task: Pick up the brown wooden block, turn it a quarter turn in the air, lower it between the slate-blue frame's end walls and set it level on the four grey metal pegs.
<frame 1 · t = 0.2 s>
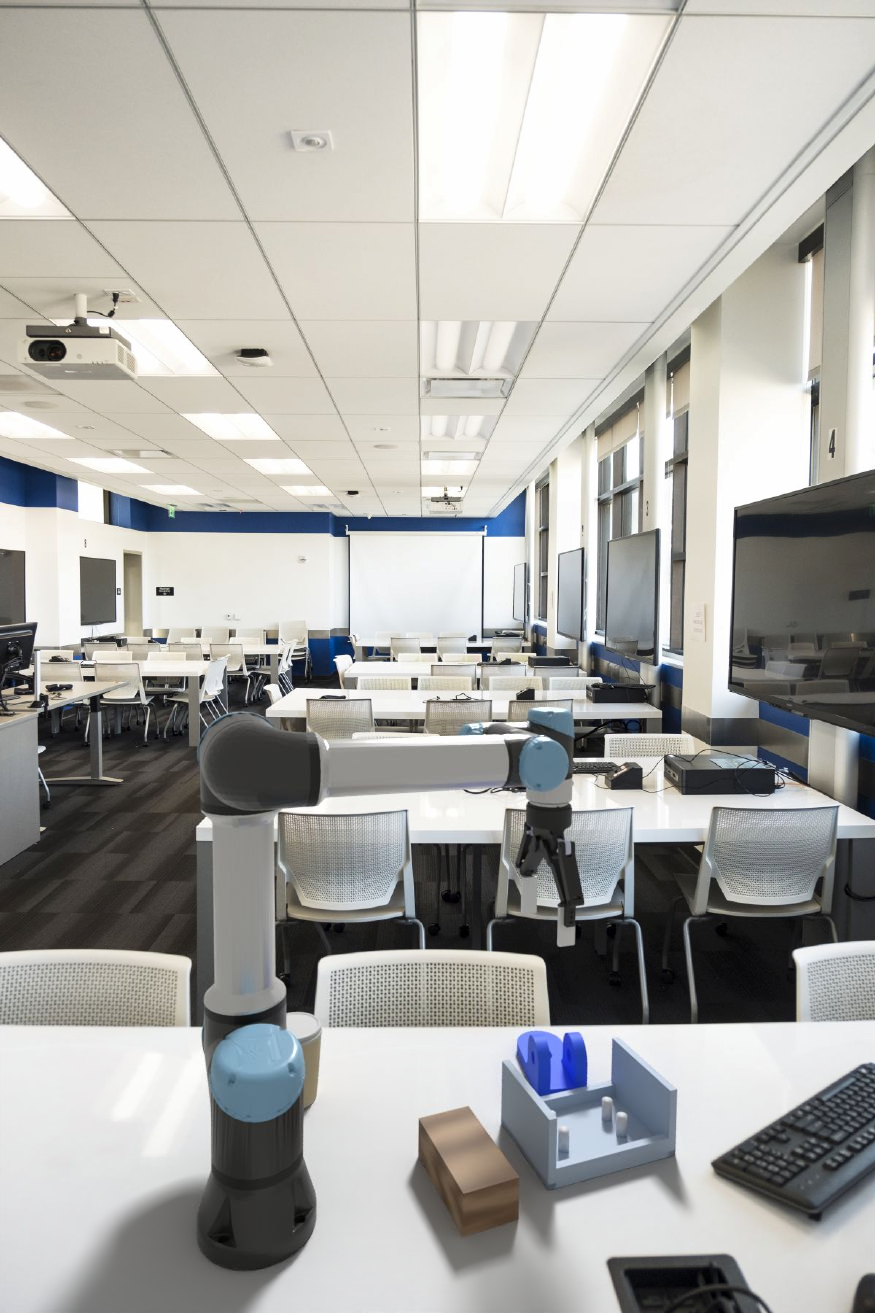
hand: (546, 928, 128), 28 cm above the table, fingers open, 13 cm apart
frame: (585, 1138, 118), on the table
coffee cup: (293, 1098, 127), on the table
brown wooden block: (465, 1188, 108), on the table
bracket: (547, 1070, 136), on the table
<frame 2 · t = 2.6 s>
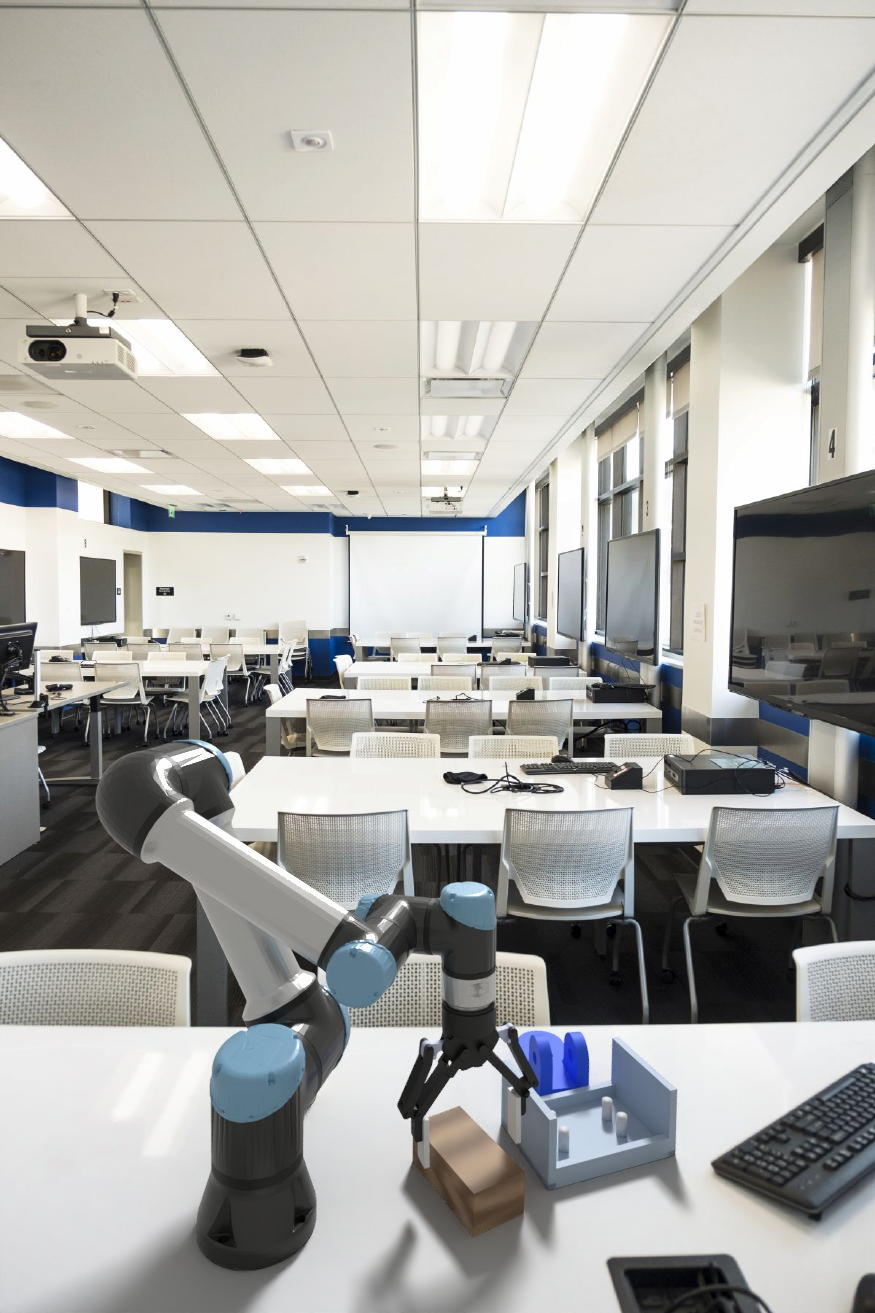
hand: (469, 1149, 107), 5 cm above the table, fingers open, 13 cm apart
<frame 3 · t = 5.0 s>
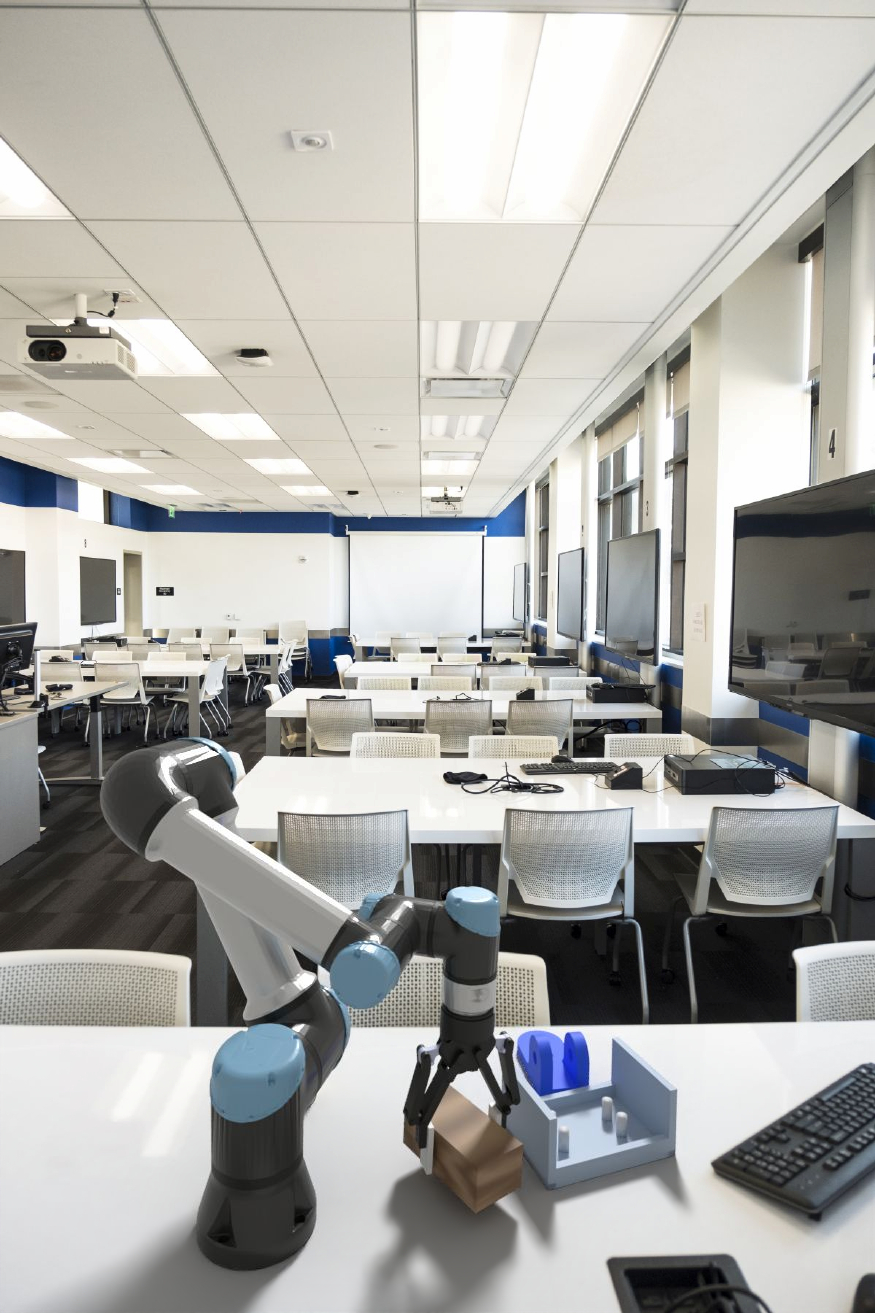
hand: (459, 1160, 108), 4 cm above the table, fingers closed on brown wooden block, 9 cm apart
brown wooden block: (459, 1164, 108), point 3 cm above the table, touching gripper
everything else where it was.
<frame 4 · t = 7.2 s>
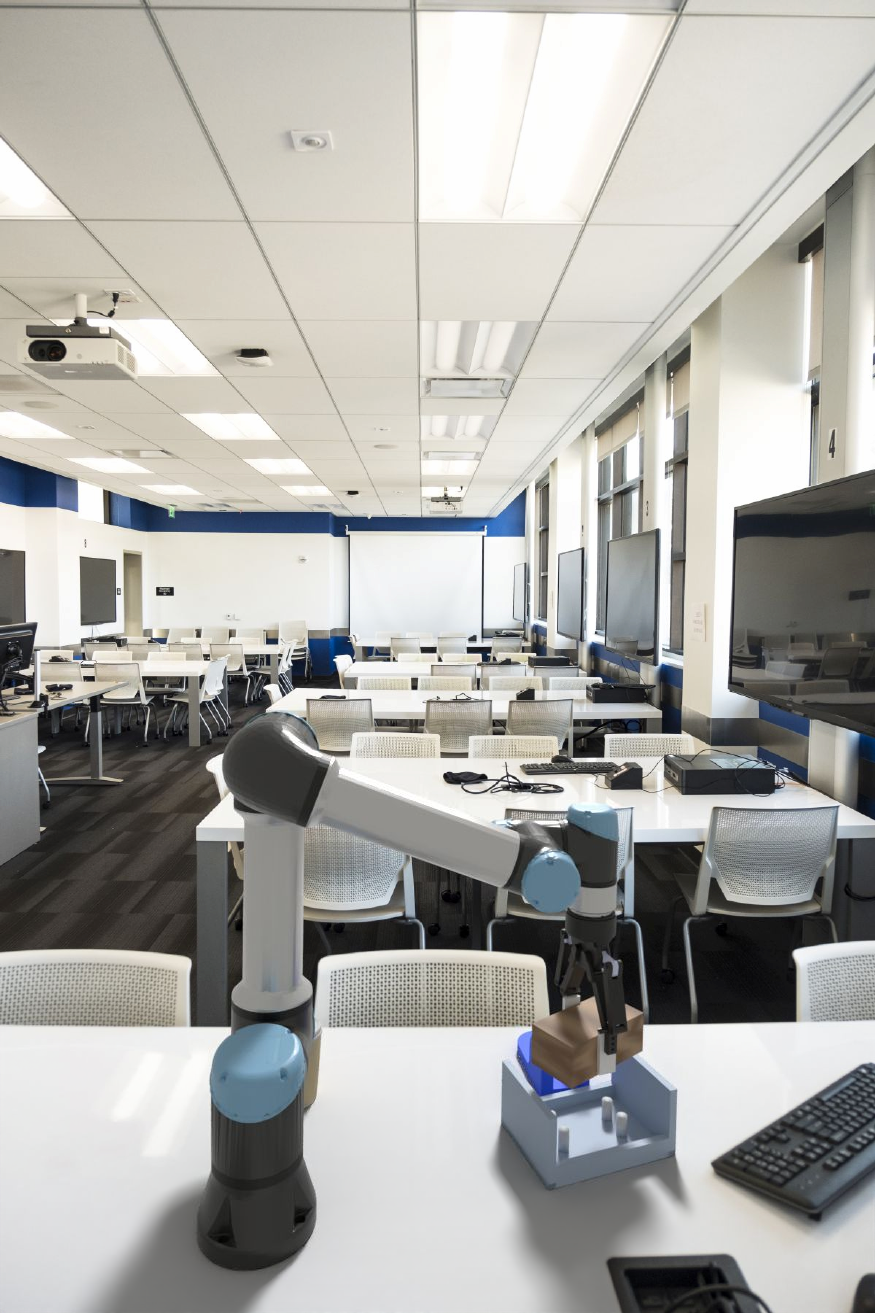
hand: (587, 1054, 117), 13 cm above the table, fingers closed on brown wooden block, 9 cm apart
brown wooden block: (587, 1057, 117), point 13 cm above the table, touching gripper
everything else where it was.
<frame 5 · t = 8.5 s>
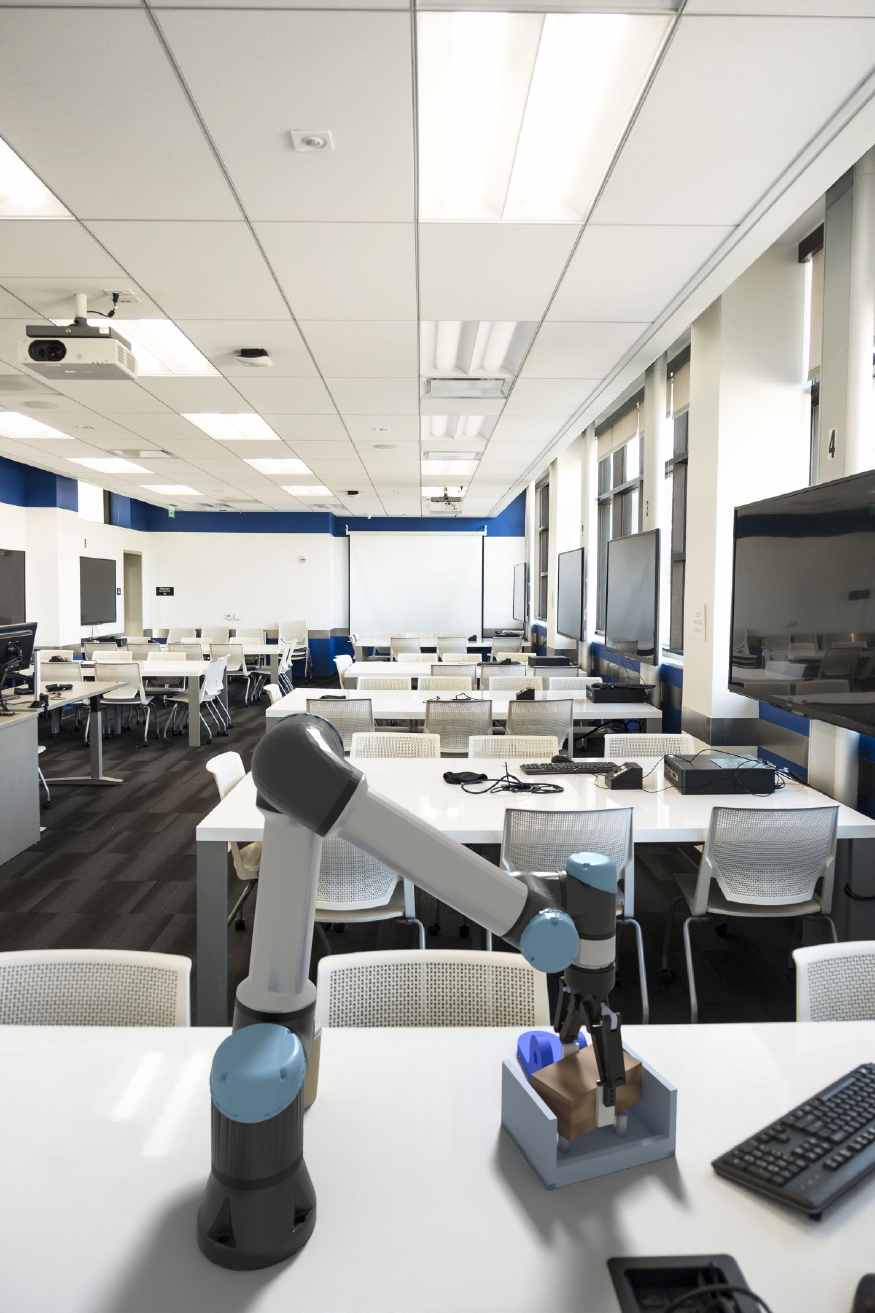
hand: (586, 1103, 117), 5 cm above the table, fingers closed on brown wooden block, 9 cm apart
brown wooden block: (586, 1106, 118), point 5 cm above the table, touching gripper
everything else where it was.
when the fingers open (5 cm above the table, at t = 9.5 s): brown wooden block stays where it is, resting on frame.
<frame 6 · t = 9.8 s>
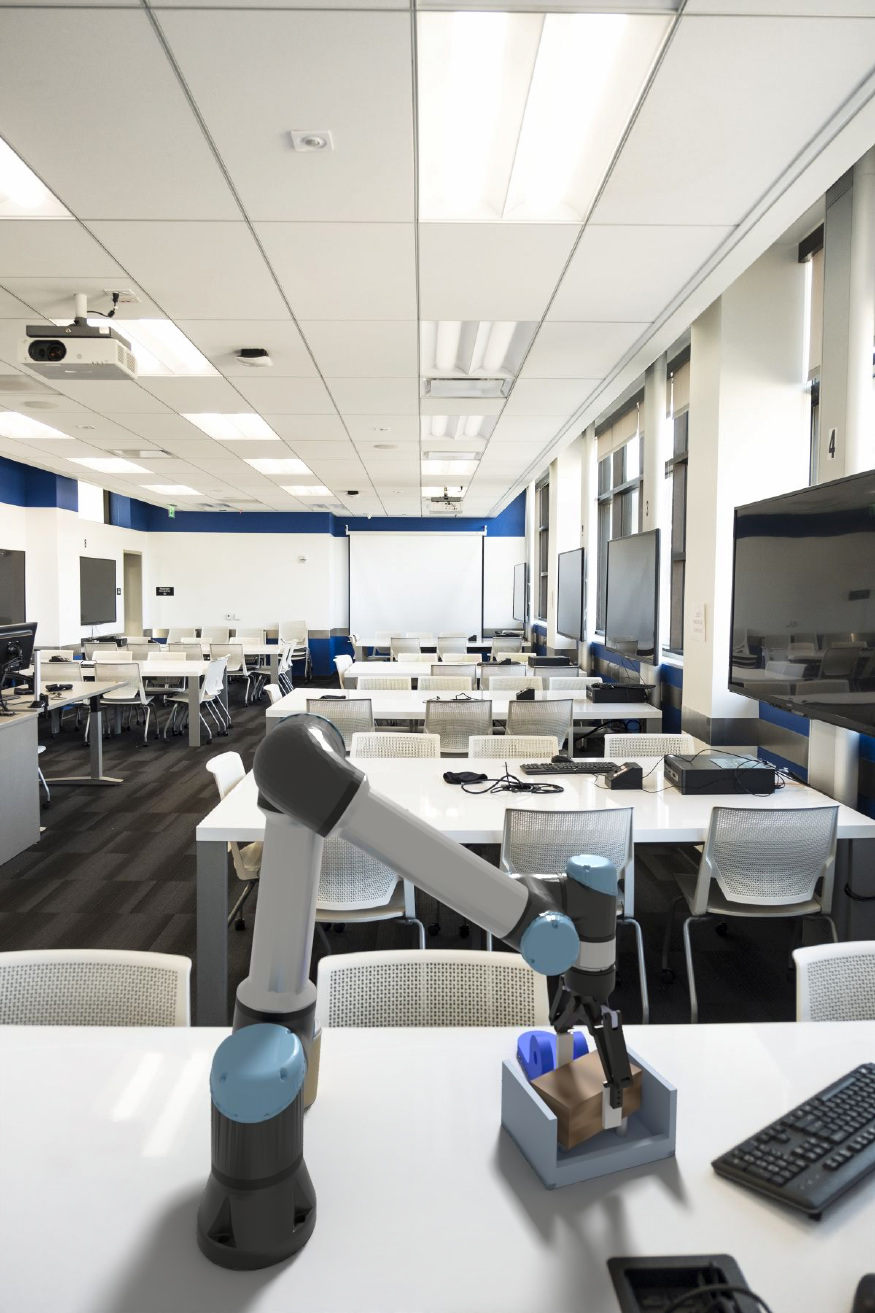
hand: (586, 1098, 117), 6 cm above the table, fingers open, 13 cm apart
brown wooden block: (585, 1114, 118), point 4 cm above the table, touching frame
everything else where it was.
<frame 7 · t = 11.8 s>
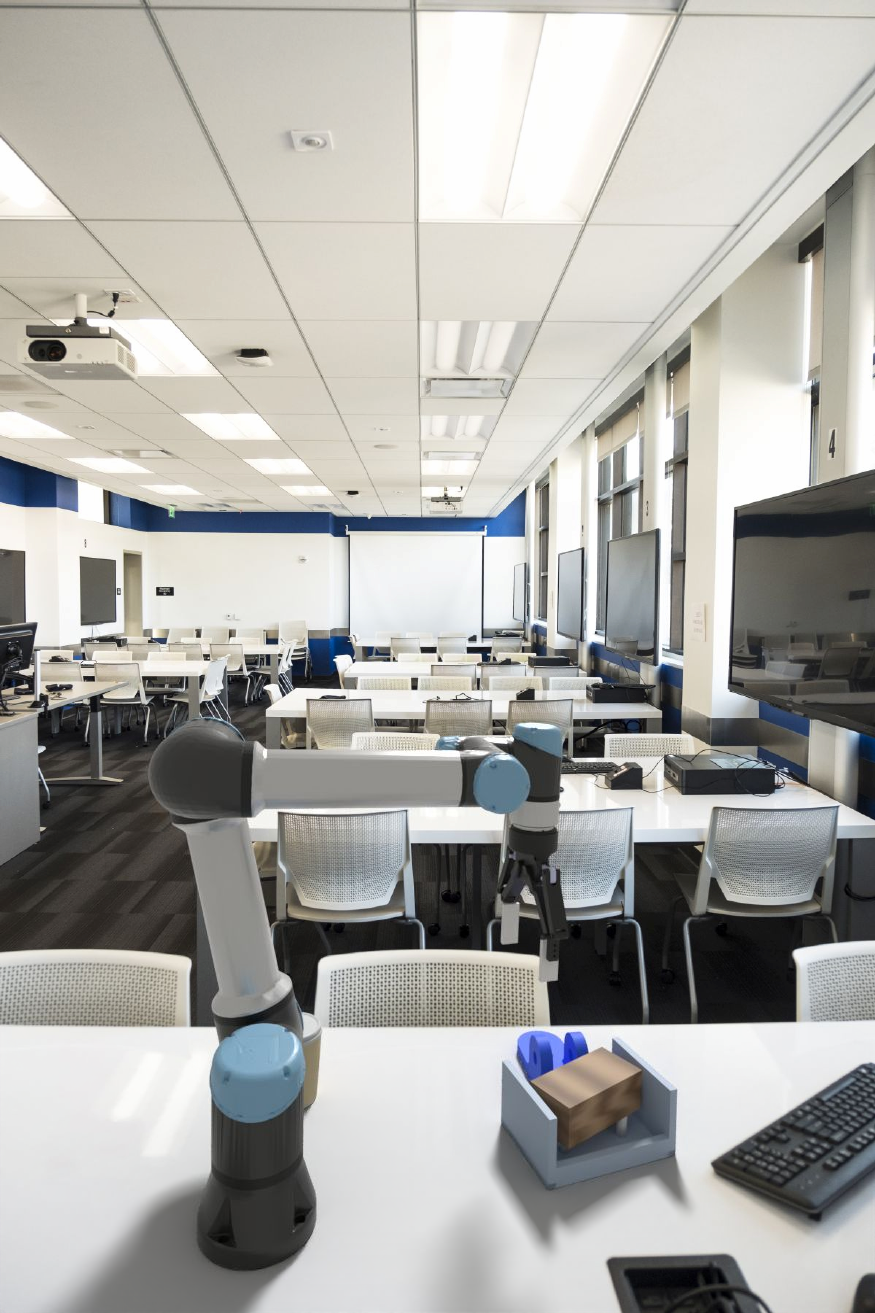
hand: (527, 960, 120), 26 cm above the table, fingers open, 13 cm apart
nothing on the table moved.
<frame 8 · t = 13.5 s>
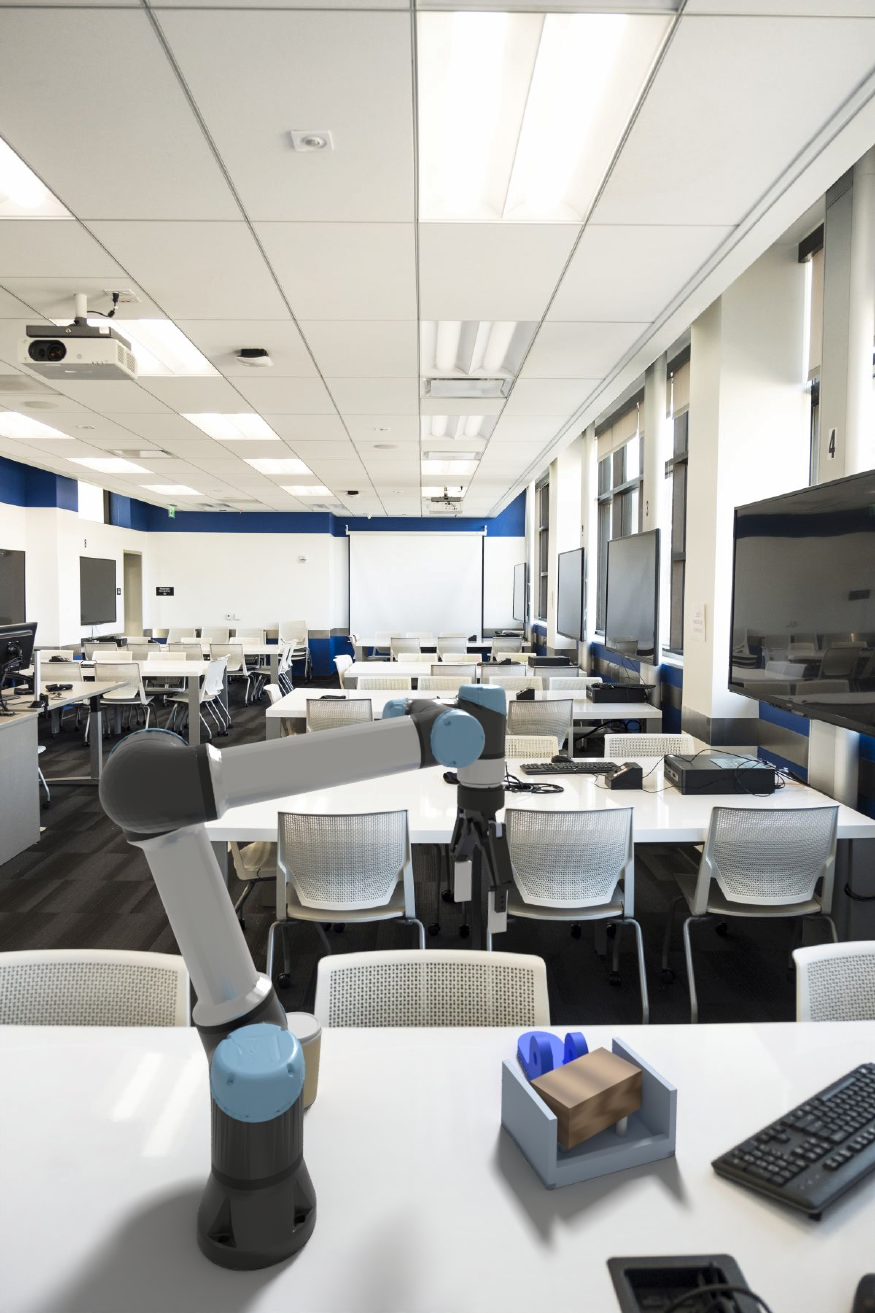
hand: (478, 915, 123), 32 cm above the table, fingers open, 13 cm apart
nothing on the table moved.
at the end: brown wooden block 0.1 cm off-centre on the frame, point 3.8 cm above the frame's base; brown wooden block tilted 0°; the gripper is holding nothing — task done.
